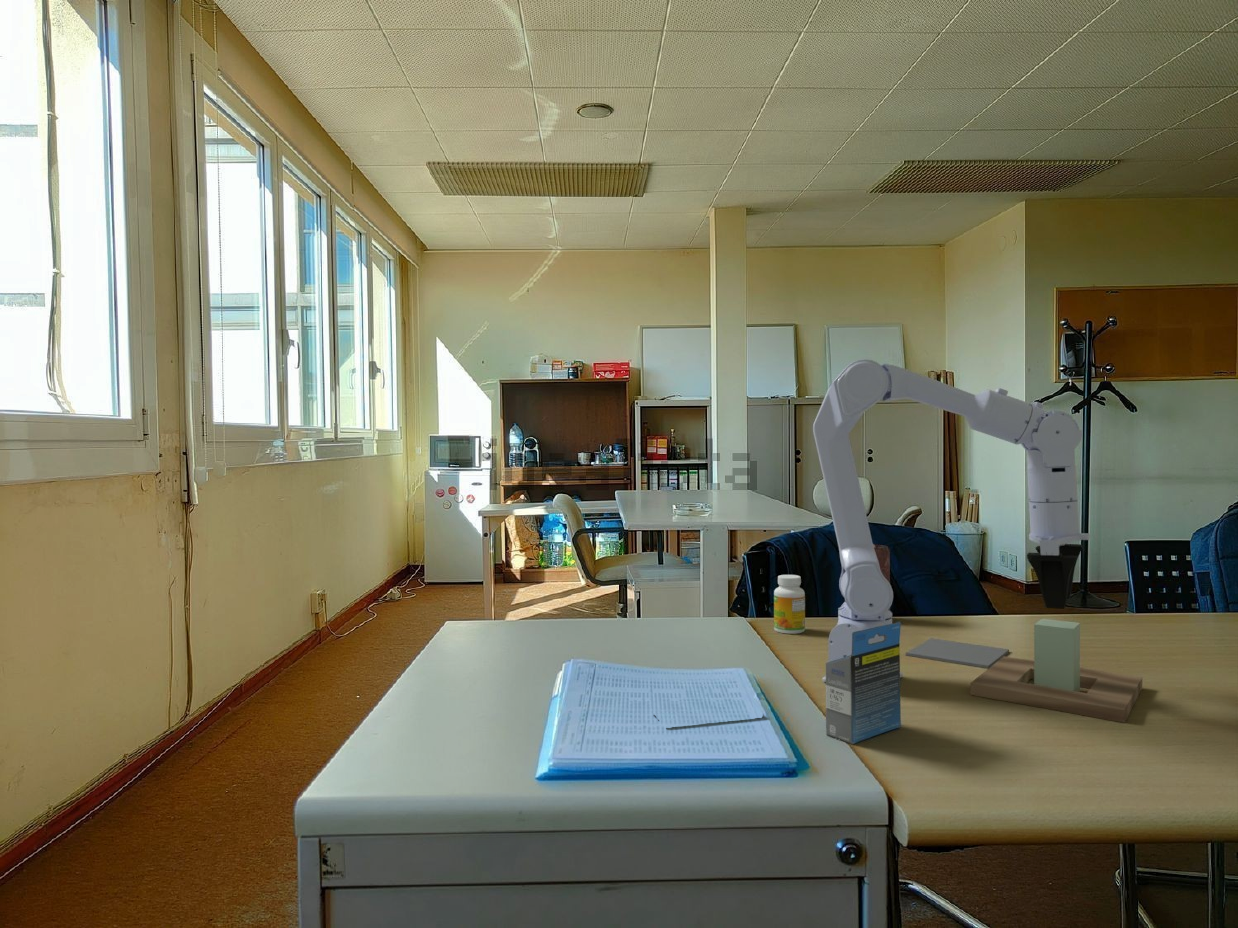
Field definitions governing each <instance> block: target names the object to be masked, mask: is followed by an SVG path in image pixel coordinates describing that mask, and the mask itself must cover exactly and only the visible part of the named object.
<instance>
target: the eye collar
mask: <svg viewBox="0 0 1238 928" xmlns="http://www.w3.org/2000/svg"><path fill="white" fill-rule="evenodd" d="M1030 680H1034V660H1033V659H1031V660H1030V659H1025V658H1024V659H1023V658H1018V657H1012V656H1006V655H1005V656H1003V657H1002V658H1001V659H1000V660H998V661H997V662H996V663H995V664H993V665H992V666H991V667H990V668H986V670H985V671H984V672H982V673H981V674H980V675H979V676H977V677H976V678H974V680H972V681H970V683H969V688H970V689H969V693H970V694H969V695H970V696H976V697H982V698H987V699H993V700H998V701H1004V702H1009V703H1015V704H1021V705H1026V706H1031V707H1036V708H1041V709H1046V710H1051V711H1052V710H1053V711H1058V712H1064V713H1069V714H1074V715H1079V716H1080V715H1081V716H1085V717H1091V718H1096V719H1101V720H1106V721H1113V722H1118V723H1123V724H1124V723H1126V721H1127V719H1128V717H1129V715H1130V714H1131V713H1130V712H1131V711H1132V709H1133V707H1134V705H1135V703H1136V701H1137V699H1138V698H1139V695H1140V694H1141V691H1142V690H1143V676H1138V675H1133V674H1131V675H1130V674H1127V673H1126V674H1124V673H1118V672H1112V671H1105V670H1100V669H1099V670H1096V669H1091V668H1084V667H1080V688H1084V689H1088V691H1087V692H1082V691H1079V692H1076V691H1070V690H1064V689H1058V688H1052V687H1046V686H1040V685H1034V683H1033V684H1032V683H1028V682H1029V681H1030Z"/></svg>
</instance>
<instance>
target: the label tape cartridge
mask: <svg viewBox="0 0 1238 928" xmlns="http://www.w3.org/2000/svg"><path fill="white" fill-rule="evenodd" d="M901 625H902V623H901V621H897V622H894V623H893V622H892V624H888V625H884V626H879V627H874V628H870V629H866V630H861V631H856V632H853V633H852V653H851V655H849V656H846V657H842V658H839V659H836V660H833V661H829V660H828V661H826V662H825V676H826V682H825V735H826V736H828V737H829V736H830V738H832V739H835V738H837V739H836V740H838V739H840V740H839V741H841V742H844V743H847V744H850V745H855V744H857V743H860V742H862V741H865V740H867V739H870V738H872V737H875V736H878V735H881V734H884V733H887V732H891V731H892V730H895V729H898V728H902V725H901V724H902V720H901V719H902V718H901V717H902V715H901V709H902V708H901V678H900V672H901V657H900V656H901V653H900V652H901V651H900V650H901V648H900V639H901V627H902V626H901ZM876 634H877V635H878V636H884V640H883V641H880V642H876V643H872V644H869V643H868V640H869V639H871V638H874V637H875V635H876Z"/></svg>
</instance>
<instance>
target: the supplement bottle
mask: <svg viewBox="0 0 1238 928" xmlns="http://www.w3.org/2000/svg"><path fill="white" fill-rule="evenodd" d="M801 583H802V579H801V576H800V575H797V574H781V575H778V576H777V584H778V587H776V588H775V589H774V590H773V629H774V631H775V632H777V633H780V634H786V635H787V634H789V635H797V634H801V633H804V632H805V630H806V595H805V594H806V593H805V590H804V589H803V588H802V587H800V586H801Z"/></svg>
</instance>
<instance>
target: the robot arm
mask: <svg viewBox="0 0 1238 928" xmlns="http://www.w3.org/2000/svg"><path fill="white" fill-rule="evenodd" d="M825 393H826V394H825V396H824V398H823V400H822V403H821V405H820V406H819V410H818V412H817V414H816V417H815V420H814V422H813V425H812V432H813V438H814V441H815V445H816V451H817V454H818V459H819V465H820V469H821V472H822V477H823V482H824V487H825V491H826V495H827V502H828V505H829V509H830V514H831V519H832V523H833V528H834V532H835V537H836V541H837V547H838V551H839V552H838V553H839V559H840V564H841V573H840V577H839V581H838V583H839V584H838V586H839V587H838V588H839V590H840V593H841V596H842V597H843V598H844V602H843V603H842V604H841V606H840V607H838V608H837V609H838V611H837V613H838V614H837V615H838V616H837V619H838V620H837V624H836V625H835V626H834V627H833V628H832V630H831V631H830V633H829V635H828V662H829V661H833V660H836V659H839V658H842V657H846V656H849V655H851V653H852V633H853V632H856V631H861V630H866V629H870V628H874V627H879V626H884V625H888V624H893V612H892V611H891V610H890V611H889V610H888V609H889V608H890V609H891V606H892V603H893V601H894V591H893V588H892V585H891V582H890V583H889V582H888V581H887V579H886V578H885V577H884V576H883V574H882V572H881V570H880V566H879V562H878V559H877V556H876V553H875V550H874V546H873V544H874V543H873V540H872V539H873V538H872V535H871V534H872V533H871V529H870V525H869V521H868V517H867V511H866V507H865V503H864V499H863V498H864V496H863V494H862V489H861V485H860V480H859V476H858V472H857V467H856V461H855V457H854V454H853V453H854V452H853V449H852V445H851V440H850V432H851V431H852V430H853V428H854V427H855V425H856V424H857V422H859V420H860V419H861V417H862V415H863V414H864V413H865V412H867V410H869V409H871V408H872V407H873V406H874V405H876V404H877V403H878V402H879V401H881V400H882V403H886V402H887V403H888V402H892V401H900V400H910V401H913V402H916V403H919V404H924V405H927V406H930V407H933V408H936V409H939V410H943V411H946V412H949V413H952V414H957V415H959V416H962V417H964V418H965V420H966V422H967V424H968V427H969V428H970V429H971V430H973V431H976V432H978V433H983V434H985V435H988V436H991V437H993V438H997V439H1000V440H1002V441H1005V442H1009V443H1011V444H1014V445H1016V446H1017V445H1020V446H1021V447H1022V448H1023V449H1024V450H1025V451H1026V460H1027V461H1026V463H1027V468H1026V472H1027V473H1026V475H1027V490H1028V493H1027V494H1028V508H1029V509H1028V510H1029V528H1030V532H1029V534H1028V540H1029V541H1031V542H1033V543H1035V544H1037V546H1036V547H1035V551H1036V552H1028V553H1027V554H1026V559H1027V560H1028V562H1029V564H1030V566H1031V567H1032V569H1033V571H1034V573H1035V575H1036V579H1037V581H1038V583H1039V587H1040V591H1041V595H1042V596H1041V597H1042V599H1043V603H1044V605H1045V608H1046V609H1057V610H1058V609H1059V610H1060V609H1061V610H1064V609H1065V608H1066V604H1067V599H1070V597H1071V594H1072V588H1073V582H1074V576H1075V575H1074V574H1075V568H1076V564H1077V561H1078V559H1079V556H1080V554H1081V552H1082V550H1083V548H1084V547H1083V546H1084V545H1083V544H1077V543H1076V542H1079V541H1082V540H1083V541H1088V540H1089V541H1090V539H1091V534H1090V533H1086V532H1085V533H1083V532H1080V520H1079V519H1080V518H1079V503H1078V500H1079V499H1078V498H1079V497H1078V482H1077V466H1076V452H1075V450H1076V448H1077V447H1078V446H1079V445H1080V442H1081V441H1082V437H1083V429H1080V427H1079V424H1078V421H1076V419H1074V417H1073V416H1072V415H1071V414H1069V413H1067V412H1065V411H1062V410H1050V411H1049V410H1048V411H1047V410H1046V411H1045V410H1044V403H1042V402H1038V401H1034V402H1033V403H1031V402H1028V401H1024V400H1022V399H1019V398H1015V397H1012V396H1010V395H1008V393H1009V391H1008V390H1006V389H1003V388H1001V387H999V388H996V389H995V390H992V389H985V390H983V391H980V392H979V393H975V394H973V393H971V392H968V391H966V390H963V389H961V388H958V387H955V386H952V385H949V384H947V383H944V382H942V381H939V380H936V379H935V378H931V377H928V376H925V375H923V374H920V373H918V372H916V371H913V370H910V369H907V368H905V367H904V368H903V367H900V366H897V365H893V364H889V363H882V364H880V363H878V361H875V360H872V359H867V358H862V359H857V360H854V361H852V362H851V363H849V364H848V365H846V367H845V368H844V369H843V370H842V371H841V372H840V373H839V374H838V375H837V377H836V378H835V379H833V381H832V383H831V384H830V385H829V386H828V389H827V391H826V392H825ZM1074 542H1075V543H1074ZM883 640H884V636H878V635H877V634H876V635H875V637H874V638H871V639H869V640H868V643H869V644H872V643H876V642H880V641H883ZM903 676H904V673H903V672H901V671H900V679H901V678H902V677H903ZM821 678H822V679H821V680H822V682H825V683H826V675H824V676H823V677H821Z"/></svg>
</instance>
